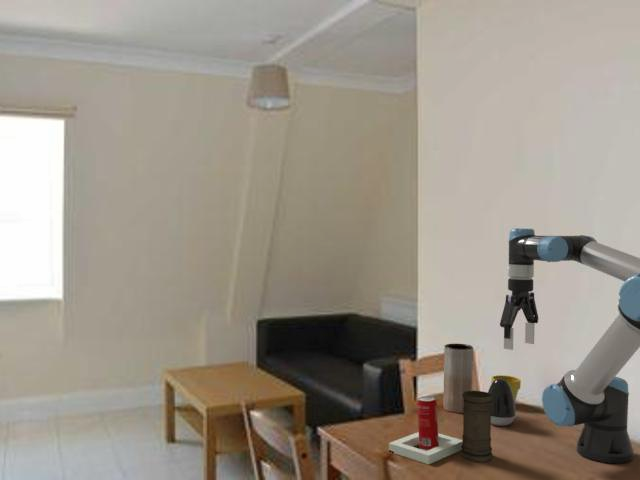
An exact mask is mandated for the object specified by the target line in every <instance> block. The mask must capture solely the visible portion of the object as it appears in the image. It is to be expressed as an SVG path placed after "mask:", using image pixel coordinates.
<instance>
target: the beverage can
mask: <svg viewBox="0 0 640 480" xmlns="http://www.w3.org/2000/svg"><path fill="white" fill-rule="evenodd" d="M416 405H417V407H416V408H417V421H418V422H417V427H418V428H417V429H418V432H419V445H418V447H419V449H421V450H425V451H428V450H430V449H433V448H435V447H438V446H440V445H439V439H438V433H439V422H438V403H437V401H436V397H434V396H420V397H418V398H417V402H416Z"/></svg>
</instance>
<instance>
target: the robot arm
mask: <svg viewBox="0 0 640 480" xmlns="http://www.w3.org/2000/svg"><path fill="white" fill-rule="evenodd" d="M508 237H509V238H508V267H507V270H508V273H507V274H508V275H507V276H508V277H509V278H508V279H507V289H508V291H510V292H511V294H506V295H505V303H504V307H503V311H502V313H501V318H500V322H499V326H500V327H501V328H503V349H504V350H511V351H512V350H514V327H513V325H514V323H515V321H516V318H517V316H518V313H519V311H521V310H522V313H523V315H524V317H525V319H526V322H525V323H524V324H525V327H524V328H525V329H524V331H525V332H524V336H525V337H524V344H530V345H534V344H535V325H536V324H538V323H539V314H538V309H537V305H536V301H535V292H533V290H534V280H533V278H534V274H535V273H534V271H535V270H534V269H535V267H534V266H535V261H542V262H547V263H558V262H561V261H562V262H563V261H564V262H565V261H570V262H571V261H573V262H576V263H580V264H582V265H585V266H586V267H589V268H592V269H595V270H596V271H599V272H601V273H603V274H606V275H609V276H611V277H612V278H615V279H618V280H619V281H622V282H623V283H622V285H621V286H620V289H619V291H618V296H619V298H618V305H617V311H618V315H617V316H616V318H615V319H614V320H613V322H612V323H611V324H610V326H609V327H608V328H607V329H606V331H605V332H604V333H603V334H602V336H601V337H600V339H599V340H597V342H596V343H595V345H594V346H593V348H592V349H591V350H590V352H588V354H587V355H586V357H585V358H584V359H583V361H581V363H580V364H579V366H578V367H577V368H576V369H571V370H568V371H567V372H566V373H565V374H564V376H562V378H561V379H560V381H559V382H558V383H551V384H549V385H547V386H545V388H544V389H543V391H542V396H541V402H542V407H543V410H544V413H545V415H546V417H547V418H548V419H549V420H550V421H551V422H552V423H553V424H554V425H555V426H558V427H561V428H562V427H563V428H564V427H568V428H569V427H573V426H579V425H583V426H582V429H581V431H580V434H579V436H578V440H577V442H576V452H577V453H578V454H579V455H580V456H582V457H584V458H587V459H588V460H592V461H596V462H601V463H607V464H609V463H610V464H624V463H629V462H631V461H633V459H634V448H633V445H632V442H631V437H630V436H629V432H628V417H629V416H628V415H629V411H628V410H629V395H630V393H629V384H628V382H627V381H626V380H625V379H624V378H622V377H618V376H617V375H618V374H619V373H620V372H621V370H622V369H623V367H625V365H626V364H627V363H628V362H629V361H630V359H631V358H632V357H633V356H634V355H635V353H636V352H637V351H638V350H639V348H640V257H638V256H635V255H632V254H629V253H627V252H624V251H621V250H618V249H616V248H614V247H612V246H611V247H610V246H608V245H605V244H602V243H600V242H598V240H596V239H595V238H594V237H592V236H591V235H590V236H589V235H583V234H582V235H536V234H535V229H533V228H514V227H513V228H511V229H510V230H509V236H508Z"/></svg>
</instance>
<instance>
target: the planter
mask: <svg viewBox="0 0 640 480" xmlns="http://www.w3.org/2000/svg"><path fill="white" fill-rule="evenodd" d="M443 347H444V354H443V358H444V359H443V402H442V403H443V404H442V405H443V406H442V407H443V410H445V411H447V412H451V413H454V414H455V413H457V414H463V413H464V409H463V407H464V401H463V399H464V398H463V393H464V392H466V391H473V374H474V372H473V371H474V370H473V369H474V368H473V366H474V346H472V345H470V344H466V343H465V344H464V343H447V344H445V345H444V346H443Z"/></svg>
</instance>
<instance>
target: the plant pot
mask: <svg viewBox="0 0 640 480" xmlns="http://www.w3.org/2000/svg"><path fill="white" fill-rule="evenodd" d="M498 378H502V379H504V378H506V379H507V380H506V381H507V382H508V383H509V385H510V387H511V390H512V393H513V397H514V401H515V402H516V400H517V397H518V392H519V390H520V389H521V379H520V378H519V377H516V376H511V375H500V374H499V375H498V374H497V375H493V376H491V382H490V383H491V384H492V383H493V381H494V380H496V379H498ZM491 384H490V385H491Z"/></svg>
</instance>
